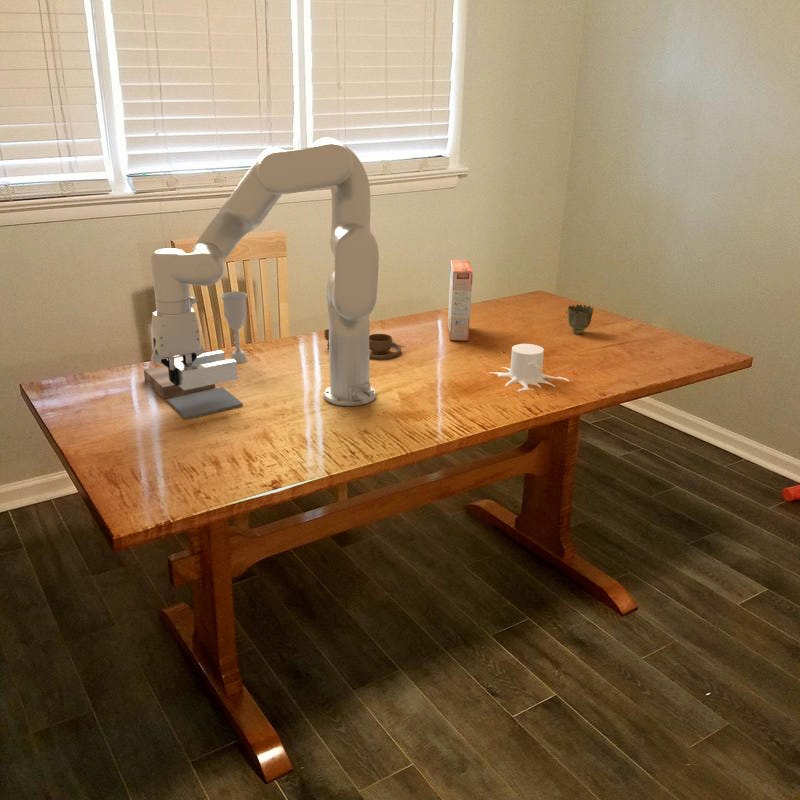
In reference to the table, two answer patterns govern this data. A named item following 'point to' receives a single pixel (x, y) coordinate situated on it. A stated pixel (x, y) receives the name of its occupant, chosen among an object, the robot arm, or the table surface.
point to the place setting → (377, 345)
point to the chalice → (235, 319)
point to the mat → (204, 402)
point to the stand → (166, 383)
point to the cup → (579, 318)
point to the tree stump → (526, 366)
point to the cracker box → (459, 300)
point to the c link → (206, 370)
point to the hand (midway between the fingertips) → (180, 382)
